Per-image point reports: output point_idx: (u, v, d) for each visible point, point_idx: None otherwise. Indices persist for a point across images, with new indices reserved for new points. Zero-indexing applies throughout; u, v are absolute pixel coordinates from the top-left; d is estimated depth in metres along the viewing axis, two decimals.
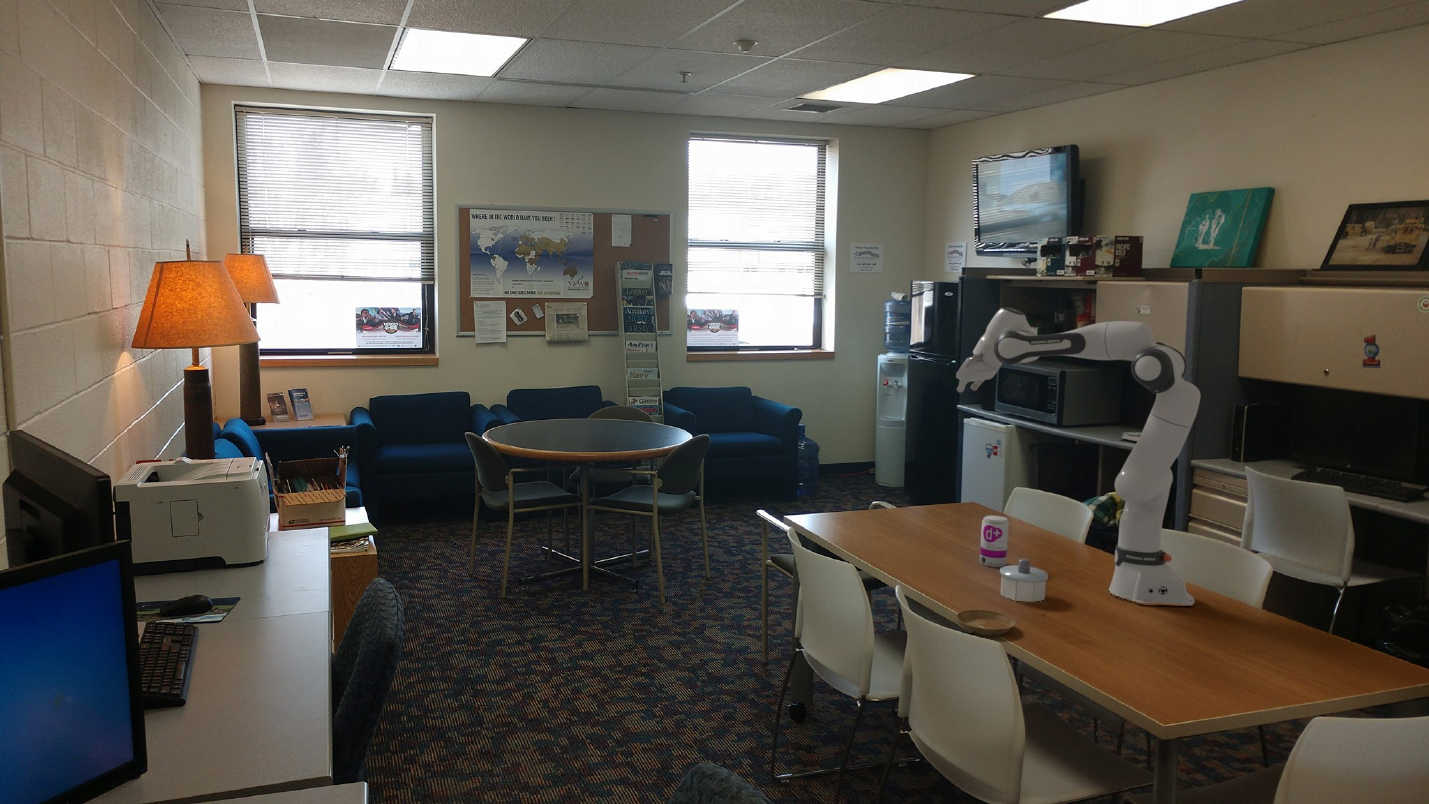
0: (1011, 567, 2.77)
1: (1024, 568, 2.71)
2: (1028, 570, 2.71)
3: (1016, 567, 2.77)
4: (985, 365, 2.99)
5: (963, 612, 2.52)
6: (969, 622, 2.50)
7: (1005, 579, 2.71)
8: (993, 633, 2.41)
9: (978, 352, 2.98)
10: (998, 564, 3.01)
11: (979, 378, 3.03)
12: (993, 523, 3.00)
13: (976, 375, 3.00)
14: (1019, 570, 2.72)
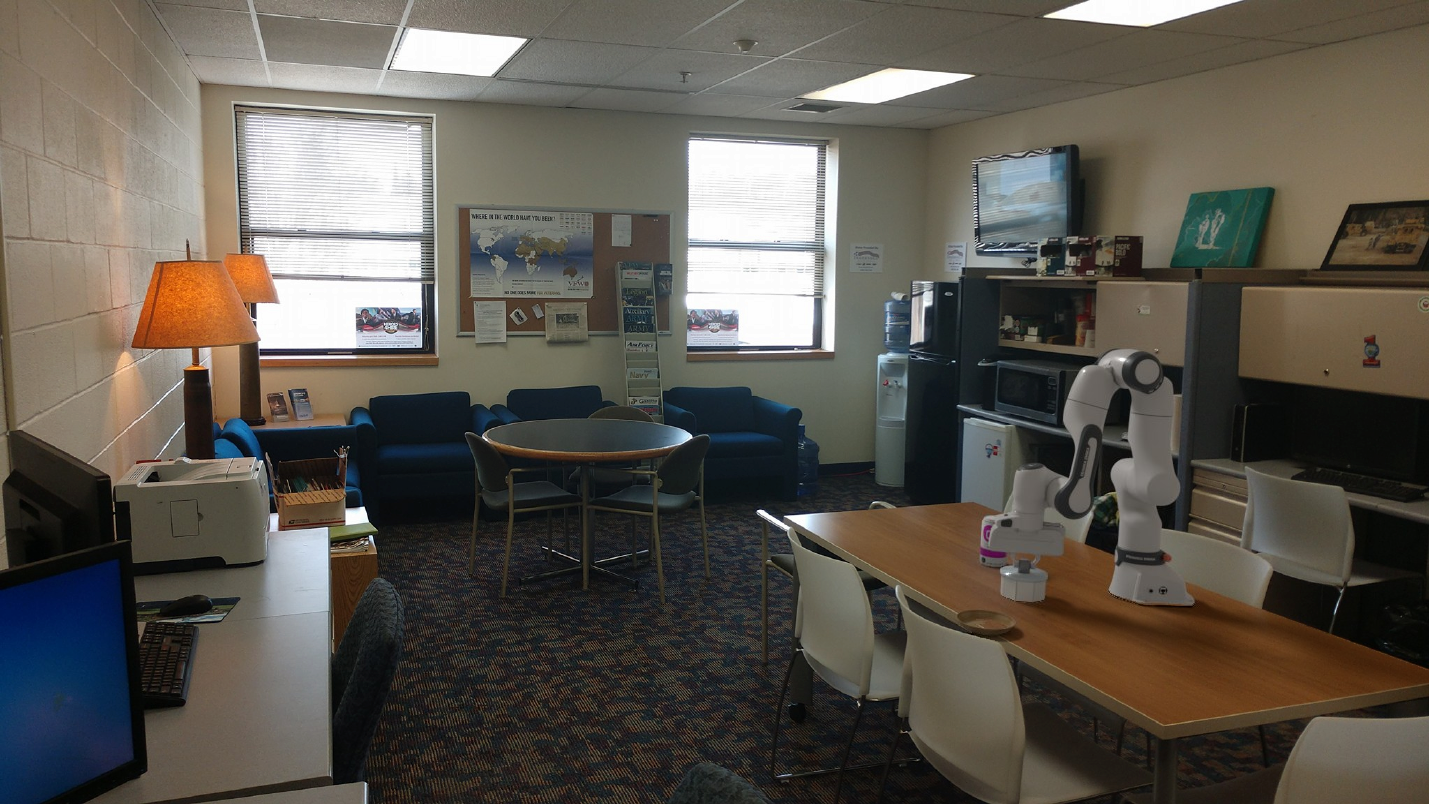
0: (1012, 567, 2.77)
1: (1024, 568, 2.71)
2: (1029, 570, 2.71)
3: None
4: None
5: (963, 612, 2.52)
6: (969, 622, 2.50)
7: (1005, 579, 2.71)
8: (993, 633, 2.41)
9: (1043, 523, 2.69)
10: (998, 564, 3.01)
11: None
12: (993, 523, 3.00)
13: None
14: (1019, 570, 2.72)
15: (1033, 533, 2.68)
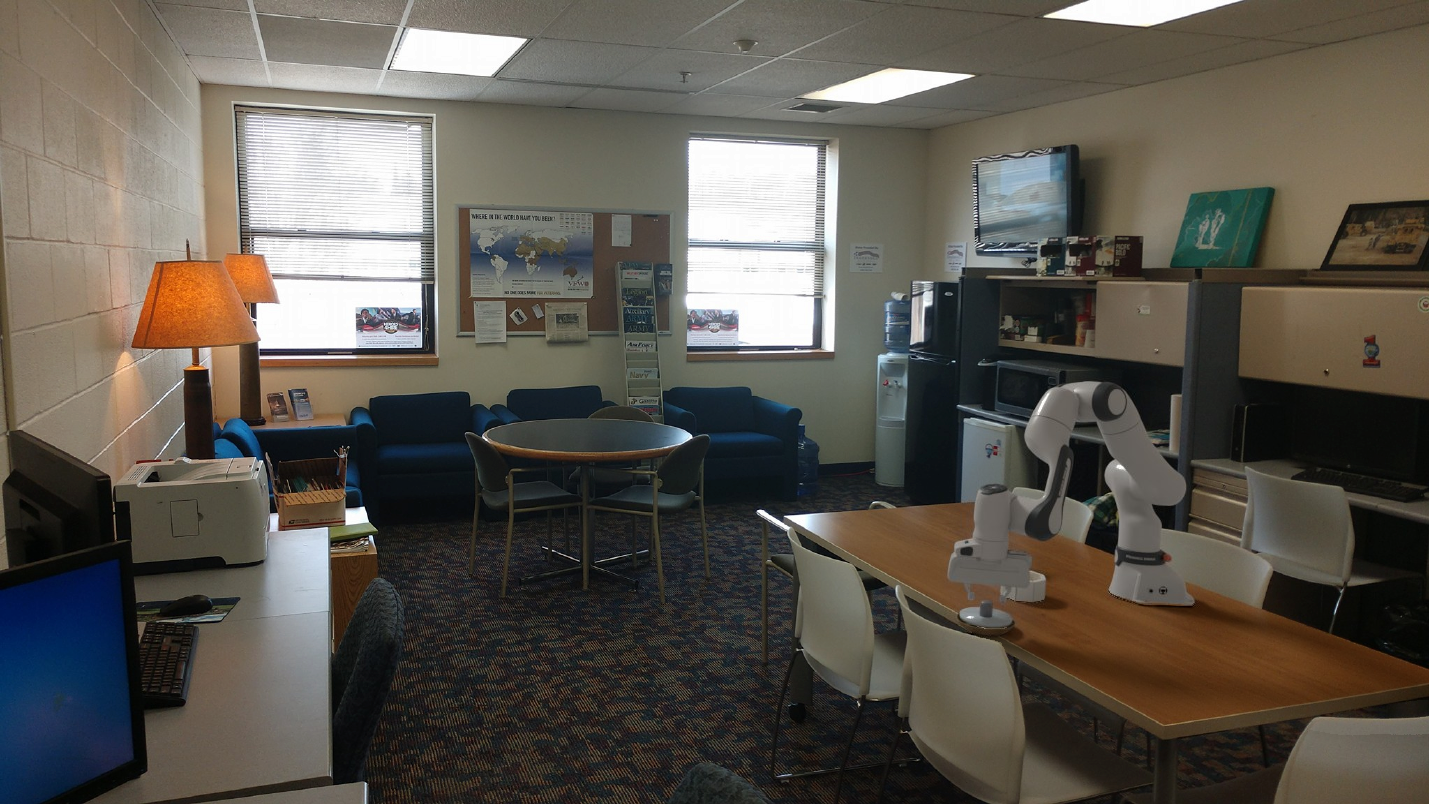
0: (973, 610, 2.51)
1: (986, 611, 2.45)
2: (991, 613, 2.45)
3: (978, 609, 2.51)
4: None
5: None
6: None
7: None
8: (993, 633, 2.41)
9: (1007, 551, 2.42)
10: None
11: None
12: None
13: None
14: (980, 613, 2.46)
15: (996, 562, 2.42)
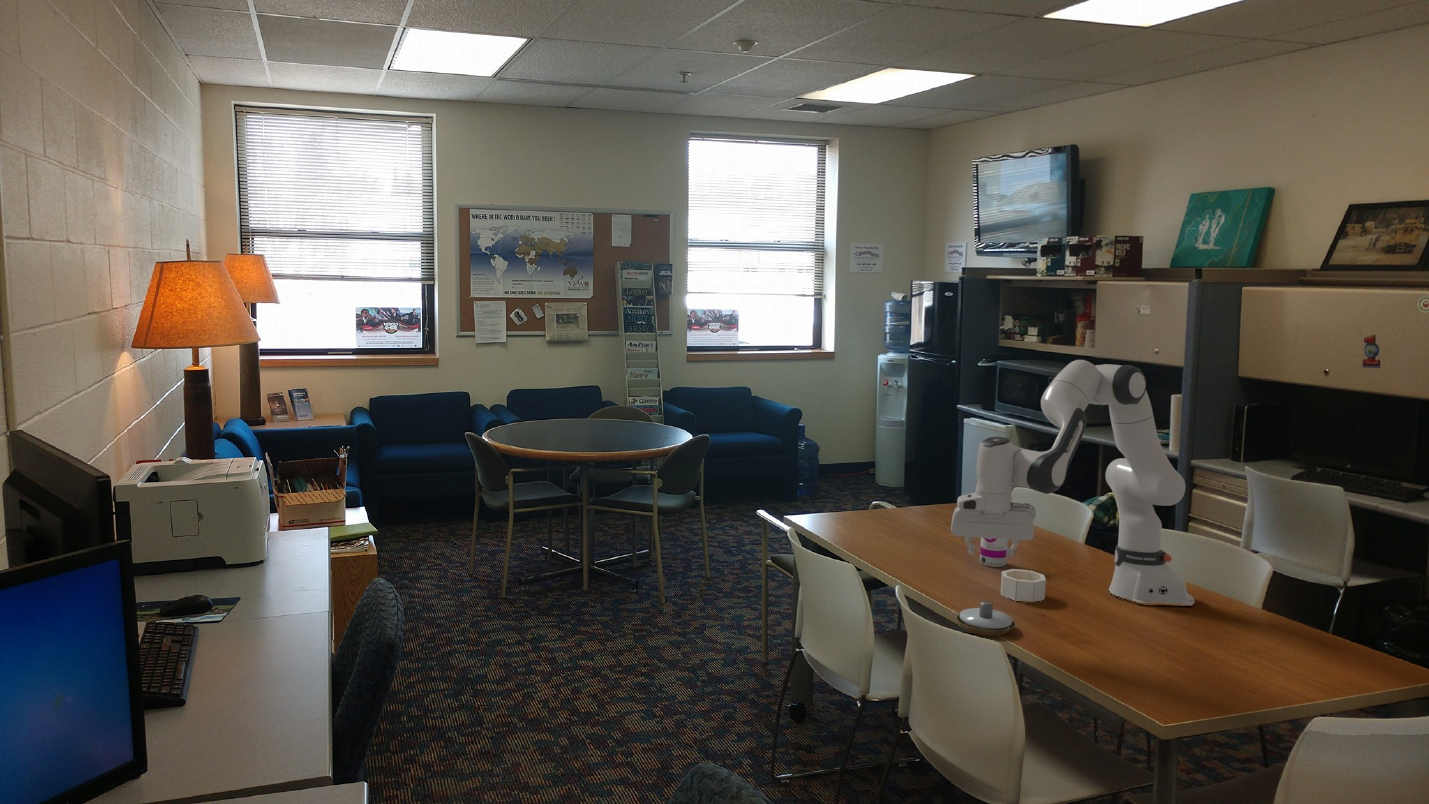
0: (973, 611, 2.51)
1: (986, 612, 2.45)
2: (991, 614, 2.45)
3: (978, 610, 2.51)
4: None
5: None
6: None
7: (1005, 579, 2.71)
8: (993, 634, 2.41)
9: (1010, 504, 2.41)
10: (998, 564, 3.01)
11: None
12: None
13: None
14: (980, 614, 2.46)
15: (999, 515, 2.40)
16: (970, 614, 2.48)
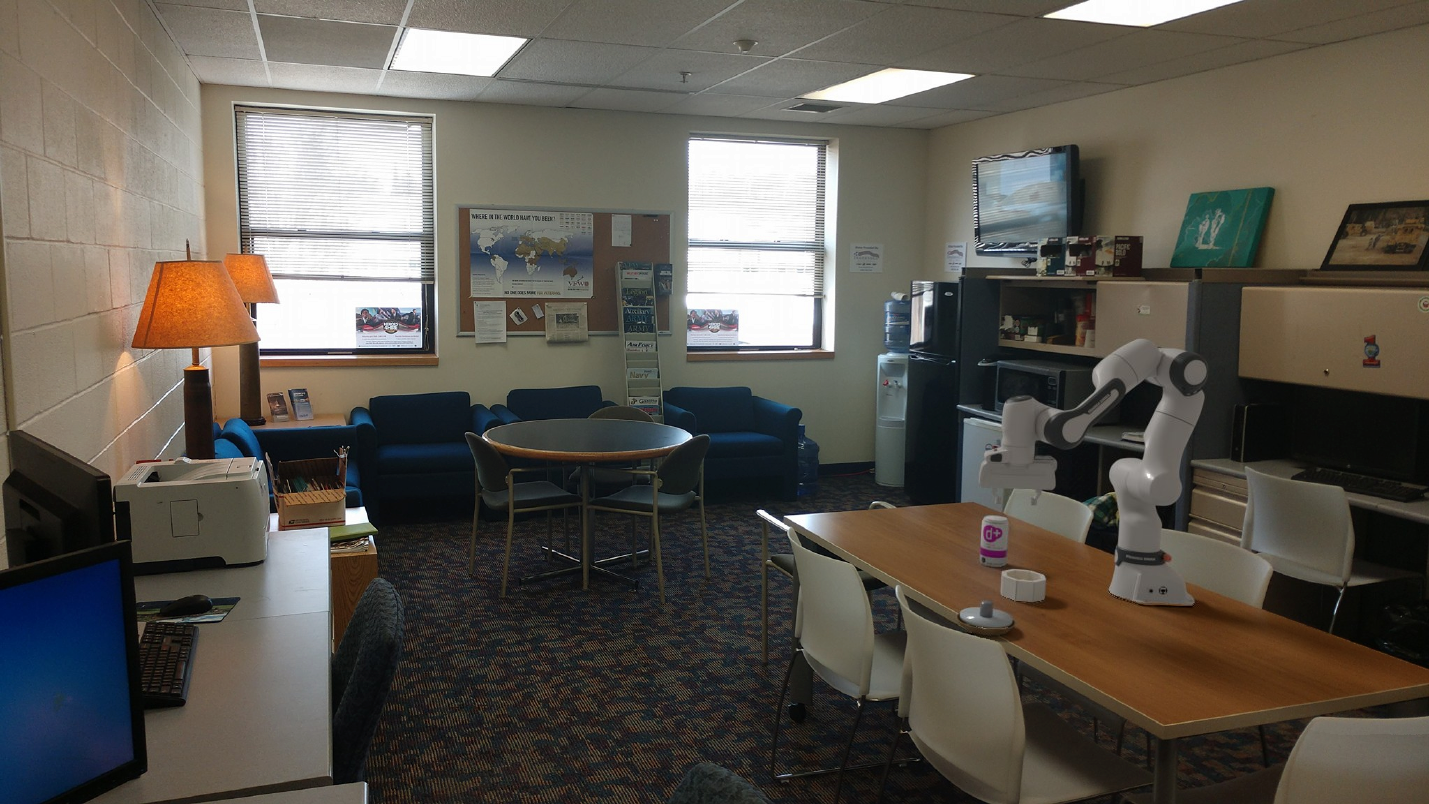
0: (973, 610, 2.51)
1: (986, 611, 2.45)
2: (991, 613, 2.45)
3: (978, 609, 2.51)
4: None
5: None
6: None
7: (1005, 579, 2.71)
8: (993, 633, 2.41)
9: (1033, 456, 2.62)
10: (998, 564, 3.01)
11: None
12: (993, 523, 3.00)
13: None
14: (981, 614, 2.46)
15: (1024, 467, 2.61)
16: (970, 613, 2.48)
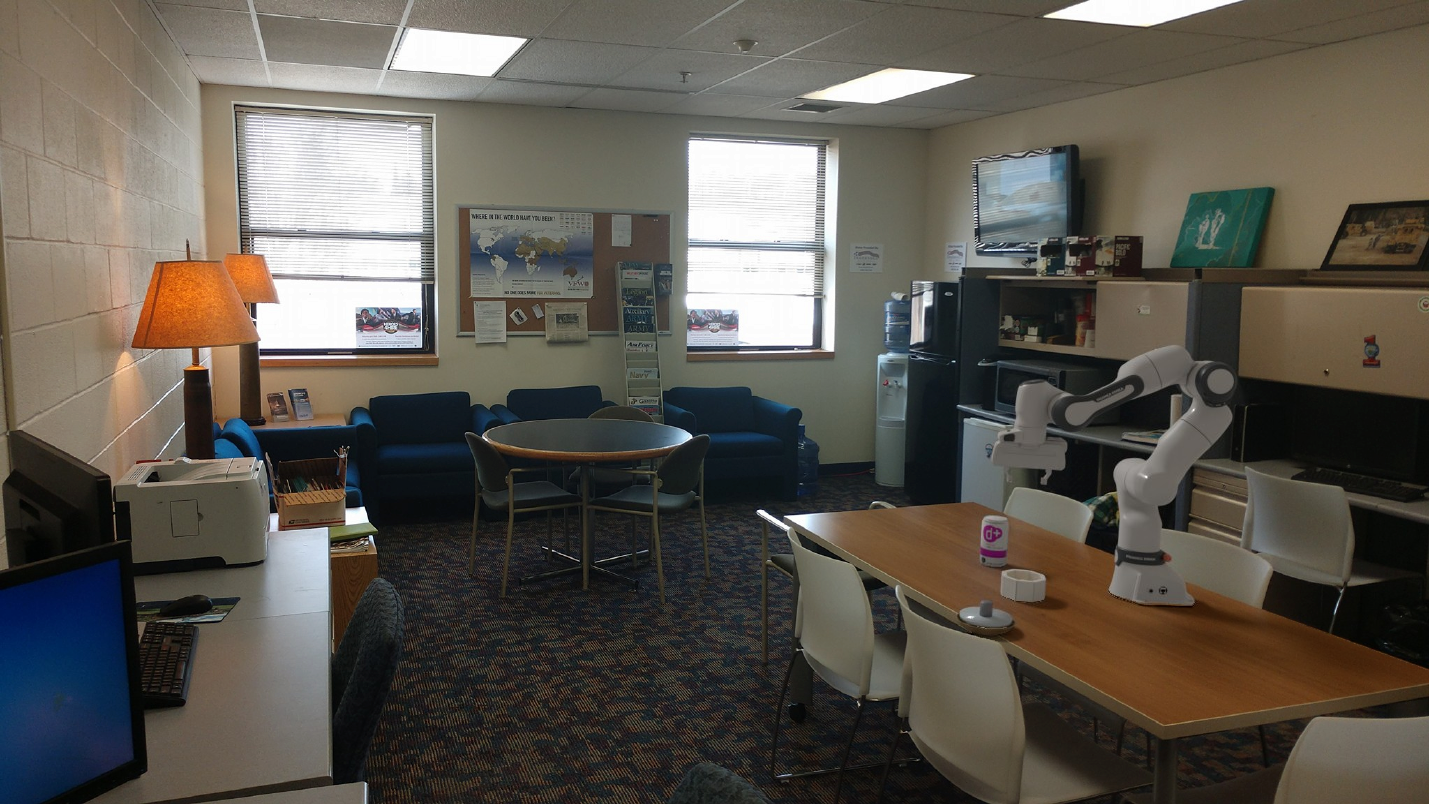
0: (973, 609, 2.51)
1: (986, 611, 2.45)
2: (991, 613, 2.45)
3: (978, 609, 2.51)
4: None
5: None
6: None
7: (1005, 579, 2.71)
8: (993, 633, 2.41)
9: (1045, 438, 2.74)
10: (998, 564, 3.01)
11: None
12: (993, 523, 3.00)
13: None
14: (980, 613, 2.46)
15: (1035, 447, 2.73)
16: (970, 613, 2.48)
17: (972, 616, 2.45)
